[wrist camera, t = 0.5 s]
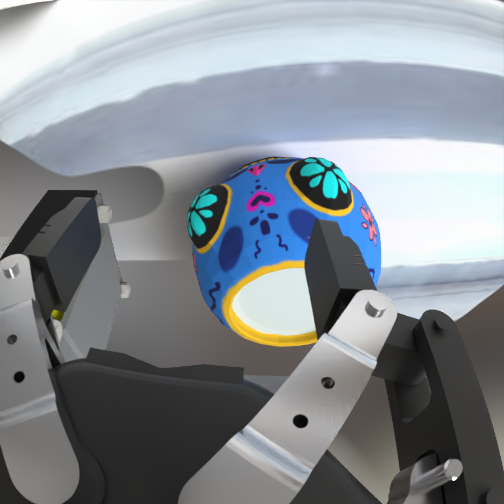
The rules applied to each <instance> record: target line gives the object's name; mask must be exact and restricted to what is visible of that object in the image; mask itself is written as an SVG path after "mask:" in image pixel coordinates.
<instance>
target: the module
mask: <svg viewBox="0 0 504 504" xmlns="http://www.w3.org/2000/svg"><path fill="white" fill-rule="evenodd" d="M45 1H52V0H0V10H4V9H7V8H11V7H16V6H21V5H26V4H31V3H38V2H45Z"/></svg>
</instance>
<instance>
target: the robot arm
mask: <svg viewBox="0 0 504 504" xmlns="http://www.w3.org/2000/svg"><path fill="white" fill-rule="evenodd" d="M100 244H101V230H100V224H99V217H98V211H97V204H96V201H95V199H94V198H81V197H75V198H74V199H73V200H72V201H71V202H70V203H69V204H68V206H67V207H66V208H65V209H64V210H61V211H60V212H58V213H57V214H55V215H54V216H52V217H51V218H50V219H49V221H48V222H47V223H46V224H45V226H44V227H43V228H42V229H41V230H40V233H38V234H37V235H36V236H35V238H34V239H33V240H32V241H31V243H30V244H29V245H28V246H27V248H26V249H25V250H24V252H23V253H22V254H14V255H11V256H8V257H6V258H4V259H3V260H1V261H0V504H382V503H381V502H380V501H379V500H378V499H377V498H376V497H375V496H374V495H372V494H371V493H370V492H369V491H368V490H367V489H366V488H365V487H364V486H363V485H362V484H361V483H360V482H359V481H358V480H357V479H356V478H355V477H354V476H353V475H352V474H351V473H350V472H349V471H348V470H347V469H346V468H345V467H344V466H343V465H342V464H341V463H340V462H339V461H338V460H337V459H336V458H335V457H334V456H333V455H332V454H331V453H330V452H329V450H328V449H327V448H328V447H329V445H330V444H331V442H332V441H333V439H334V437H335V436H336V434H337V432H338V431H339V430H340V428H341V426H342V425H343V423H344V421H345V420H346V418H347V417H348V415H349V413H350V411H351V410H352V408H353V407H354V404H355V403H356V401H357V400H358V398H359V396H360V394H361V393H362V391H363V389H364V387H365V385H366V384H367V382H368V380H369V378H370V376H371V375H372V376H376V377H380V378H384V380H385V384H386V389H387V394H388V400H389V404H390V410H391V416H392V421H393V427H394V433H395V440H396V446H397V453H398V460H399V468H400V472H399V473H397V474H396V476H395V477H394V478H393V480H392V482H391V485H390V492H389V495H388V502H387V504H504V470H503V466H502V461H501V456H500V453H499V448H498V445H497V440H496V437H495V433H494V429H493V425H492V422H491V418H490V415H489V412H488V409H487V405H486V402H485V399H484V396H483V393H482V390H481V387H480V384H479V381H478V379H477V376H476V373H475V370H474V368H473V365H472V362H471V360H470V358H469V355H468V352H467V350H466V347H465V345H464V342H463V340H462V338H461V335H460V333H459V331H458V328H457V326H456V324H455V323H454V321H453V320H452V319H451V318H450V317H449V316H448V315H446V314H445V313H443V312H441V311H438V310H427V311H425V312H424V313H423V315H422V316H421V318H420V319H415V318H412V317H409V316H406V315H402V314H400V313H397V308H396V306H395V304H394V303H393V301H392V300H391V299H390V298H389V297H387V296H386V295H384V294H383V293H381V292H378V291H377V289H376V287H375V284H374V282H373V279H372V277H371V274H370V272H369V270H368V267H367V265H366V263H365V260H364V258H363V257H362V253H361V251H360V249H359V246H358V245H357V244H356V243H355V242H354V241H353V240H352V239H351V238H350V237H349V236H343V234H342V231H341V229H340V227H339V224H338V222H337V221H330V220H323V219H316V220H315V222H314V225H313V229H312V233H311V236H310V240H309V244H308V247H307V251H306V255H305V262H304V269H305V275H306V280H307V285H308V291H309V296H310V301H311V307H312V312H313V318H314V323H315V329H316V335H317V340H318V341H317V343H316V344H315V345H314V347H313V348H312V349H311V351H310V352H309V353H308V354H307V356H306V357H305V358H304V359H303V361H302V362H301V363H300V364H299V366H298V367H297V368H296V369H295V371H294V372H293V373H292V374H291V375H290V377H289V378H288V379H287V380H286V381H285V383H284V384H283V385H282V386H281V387H280V389H279V390H278V391H277V392H276V393H275V394H274V393H272V392H271V391H269V390H268V389H266V388H264V387H262V386H261V385H259V384H256V383H254V382H251V381H248V380H245V379H243V369H244V368H240V367H227V366H216V365H205V364H202V365H193V366H184V367H173V368H158V367H156V366H153V365H151V364H148V363H146V362H143V361H141V360H138V359H136V358H133V357H131V356H129V355H126V354H124V353H118V352H112V351H107V350H102V349H96V348H91V347H90V349H89V352H88V355H87V357H86V358H81V359H75V360H71V361H68V362H66V361H65V358H64V355H63V352H62V349H61V346H60V343H59V339H58V336H57V333H56V329H55V326H54V322H53V319H52V317H51V314H52V312H53V310H57V311H62V312H66V310H67V308H68V306H69V304H70V302H71V300H72V298H73V296H74V294H75V292H76V290H77V288H78V287H79V285H80V283H81V281H82V279H83V277H84V275H85V273H86V272H87V270H88V268H89V266H90V264H91V263H92V261H93V259H94V257H95V256H96V254H97V252H98V250H99V248H100ZM426 376H427V379H428V382H429V386H430V389H431V395H430V391H429V387H428V384H427V380H426Z"/></svg>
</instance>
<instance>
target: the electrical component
mask: <svg viewBox="0 0 504 504" xmlns="http://www.w3.org/2000/svg"><path fill="white" fill-rule="evenodd" d="M75 197H81V198H94V199H95V201H96V204H97V211H98V217H99V224H100V230H101V244H100V248H99V250H98V252H97V254H96V256H95V257H94V259H93V261H92V263H91V264H90V266H89V268H88V270H87V272H86V273H85V275H84V277H83V279H82V281H81V283H80V285H79V287H78V288H77V290H76V292H75V294H74V296H73V298H72V300H71V302H70V304H69V306H68V308H67V310H66V312H62V311H57V310H53V312H52V314H51V317H52V319H53V322H54V326H55V329H56V333H57V336H58V339H59V343H60V346H61V349H62V352H63V355H64V358H65V361H66V362H68V361H71V360H75V359H81V358H86V357H87V355H88V352H89V349H90V347H91V348H96V349H102V350H105V349H106V346H107V342H108V338H109V335H110V331H111V327H112V324H113V320H114V317H115V314H116V310H117V307H118V306H119V303H120V300H121V298H128V297H129V294H130V285H129V283H125V282H122V278H121V275H120V271H119V268H118V264H117V260H116V256H115V252H114V248H113V244H112V240H111V236H110V232H109V228H108V223H110V221H111V219H112V208H111V206H110V205H103V200H102V195H101V193H97V190H95V191H93V190H91V191H90V190H48V191H47V193H46V194H45V196H44V197H43V198H42V199H41V200H40V202H39V203H38V204H37V206H36V207H35V208H34V210H33V211H32V212H31V214H30V215H29V217H28V218H27V220H26V221H25V222H24V224H23V225H22V226H21V228H20V229H19V231H18V232H17V234H16V235H15V237H14V238H13V240H12V241H11V243H10V244H9V246H8V247H7V249H6V250H5V252H4V254H3V255H2V257H1V258H0V261H1V260H3V259H4V258H6V257H8V256H11V255H14V254H22V253H23V252H24V250H25V249H26V248H27V246H28V245H29V244H30V243H31V241H32V240H33V239H34V238H35V236H36V235H37V234H38V233H40V230H41V229H42V228H43V227H44V226H45V224H46V223H47V222H48V221H49V219H50V218H51V217H52V216H54V215H55V214H57V213H58V212H60V211H61V210H64V209H65V208H66V207H67V206H68V204H69V203H70V202H71V201H72V200H73V199H74V198H75Z"/></svg>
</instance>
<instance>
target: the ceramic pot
mask: <svg viewBox="0 0 504 504" xmlns="http://www.w3.org/2000/svg"><path fill="white" fill-rule="evenodd" d="M316 219H323V220H330V221H337V222H338V224H339V227H340V229H341V231H342V234H343V236H349V237H350V238H351V239H352V240H353V241H354V242H355V243H356V244H357V245H358V246H359V249H360V251H361V253H362V257H363V258H364V260H365V263H366V265H367V267H368V270H369V272H370V274H371V277H372V279H373V282H374V284H375V287H376V285H377V282H378V279H379V275H380V271H381V242H380V233H379V228H378V224H377V222H376V220H375V218H374V216H373V214H372V212H371V210H370V208H369V206H368V205H367V203H366V201H365V199H364V197H363V195H362V193H361V192H360V191H359V190H358V189H357V188H356V187H355V186H354V185H353V184H352V183H350V182H349V181H348V180H347V178H346V177H345V175H344V173H343V171H342V170H341V169H340V168H339V167H338V166H337V165H335V164H334V163H333V162H330V161H328V160H326V159H324V158H316V157H309V158H305V159H302V158H294V157H269V158H265V159H261V160H258V161H255V162H252V163H249V164H247V165H245V166H243V167H242V168H241V169H239V170H238V171H237V172H235V173H234V174H232V175H231V176H230V177H228V178H227V179H226V180H225V181H224V182H223V183H222V184H220V185H217V186H213V187H210V188H207V189H206V190H204V191H202V192H201V193H200V194H199V195H198V196H197V197H196V198H195V200H194V201H193V203H192V204H191V206H190V209H189V212H188V218H187V226H188V231H189V235H190V237H191V239H192V241H193V261H194V267H195V271H196V274H197V279H198V282H199V286H200V289H201V293H202V296H203V298H204V300H205V302H206V303H207V305H208V307H209V308H210V309H211V311H212V312H213V313H214V314H215V316H216V317H217V318H218V319H219V320H220V322H221V323H222V324H223V325H225V326H226V327H227V328H229V329H230V330H232V331H233V332H235V333H236V334H238V335H239V336H241V337H243V338H245V339H248V340H251V341H254V342H256V343H259V344H266V345H273V346H299V345H305V344H310V343H314V342H317V341H318V340H317V335H316V329H315V323H314V318H313V312H312V307H311V301H310V296H309V291H308V285H307V280H306V275H305V269H304V262H305V255H306V251H307V247H308V244H309V240H310V236H311V233H312V229H313V225H314V222H315V220H316Z"/></svg>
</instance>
